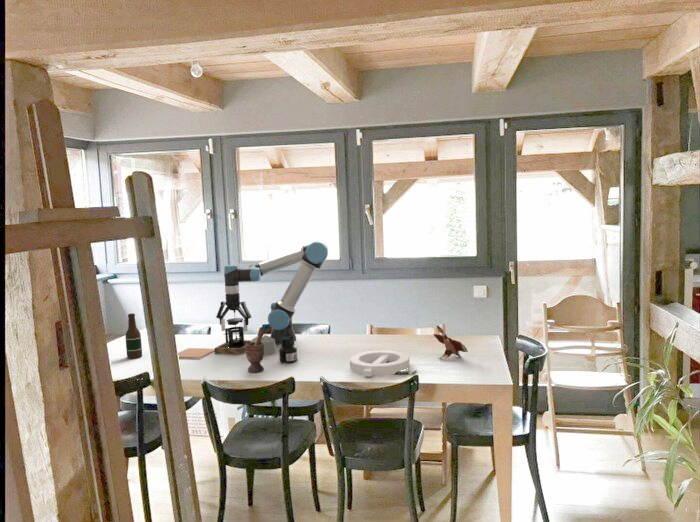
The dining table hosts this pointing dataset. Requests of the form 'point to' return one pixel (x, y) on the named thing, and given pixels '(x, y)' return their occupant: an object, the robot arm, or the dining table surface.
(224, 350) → the brown wooden tray
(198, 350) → the terracotta pad
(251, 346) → the mortar and pestle
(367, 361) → the white circle with bar
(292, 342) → the ink bottle
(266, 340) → the lumpy-topped squat cylinder
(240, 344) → the french press
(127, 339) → the beer bottle
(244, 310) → the robot arm
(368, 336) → the dining table surface
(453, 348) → the decorative bird
